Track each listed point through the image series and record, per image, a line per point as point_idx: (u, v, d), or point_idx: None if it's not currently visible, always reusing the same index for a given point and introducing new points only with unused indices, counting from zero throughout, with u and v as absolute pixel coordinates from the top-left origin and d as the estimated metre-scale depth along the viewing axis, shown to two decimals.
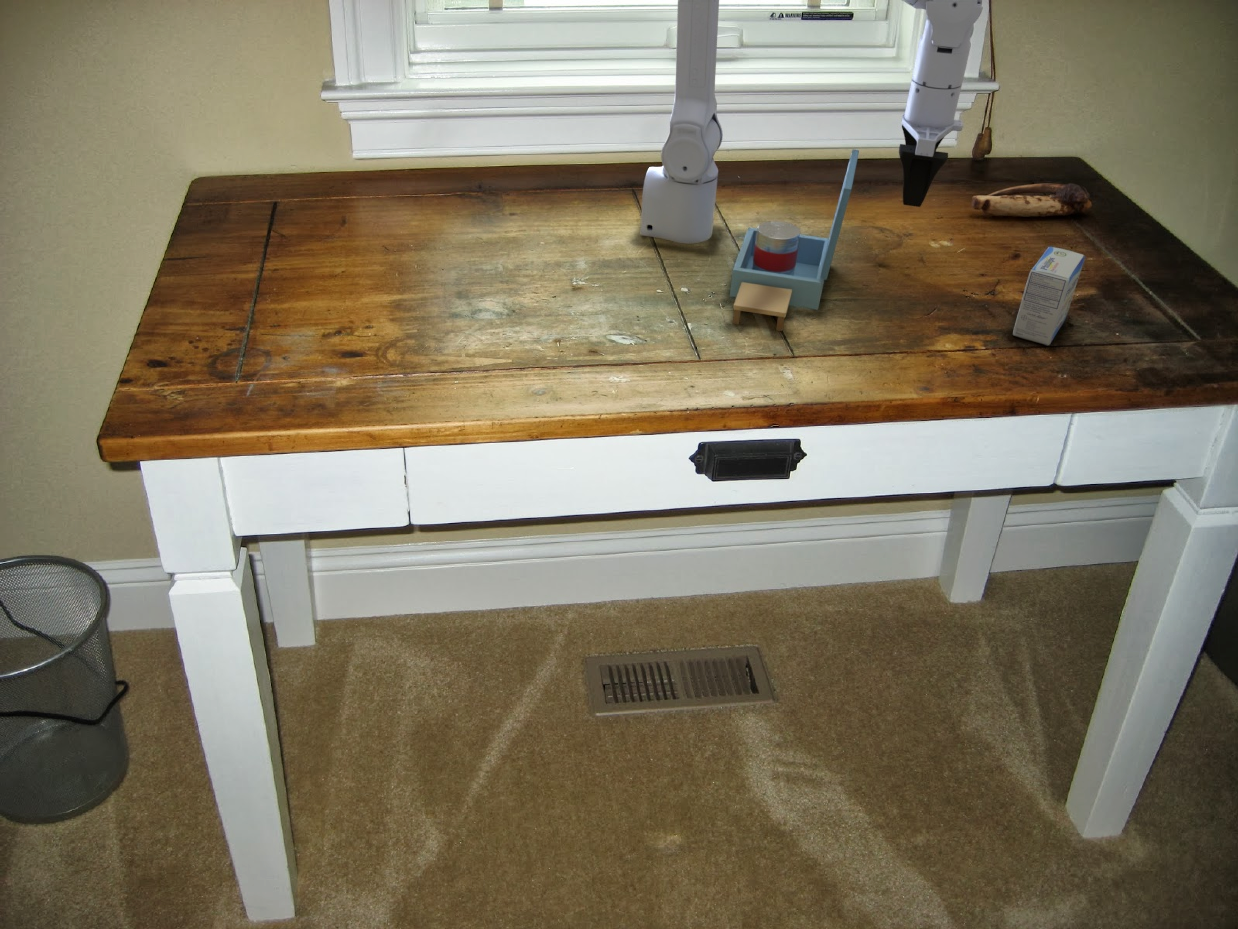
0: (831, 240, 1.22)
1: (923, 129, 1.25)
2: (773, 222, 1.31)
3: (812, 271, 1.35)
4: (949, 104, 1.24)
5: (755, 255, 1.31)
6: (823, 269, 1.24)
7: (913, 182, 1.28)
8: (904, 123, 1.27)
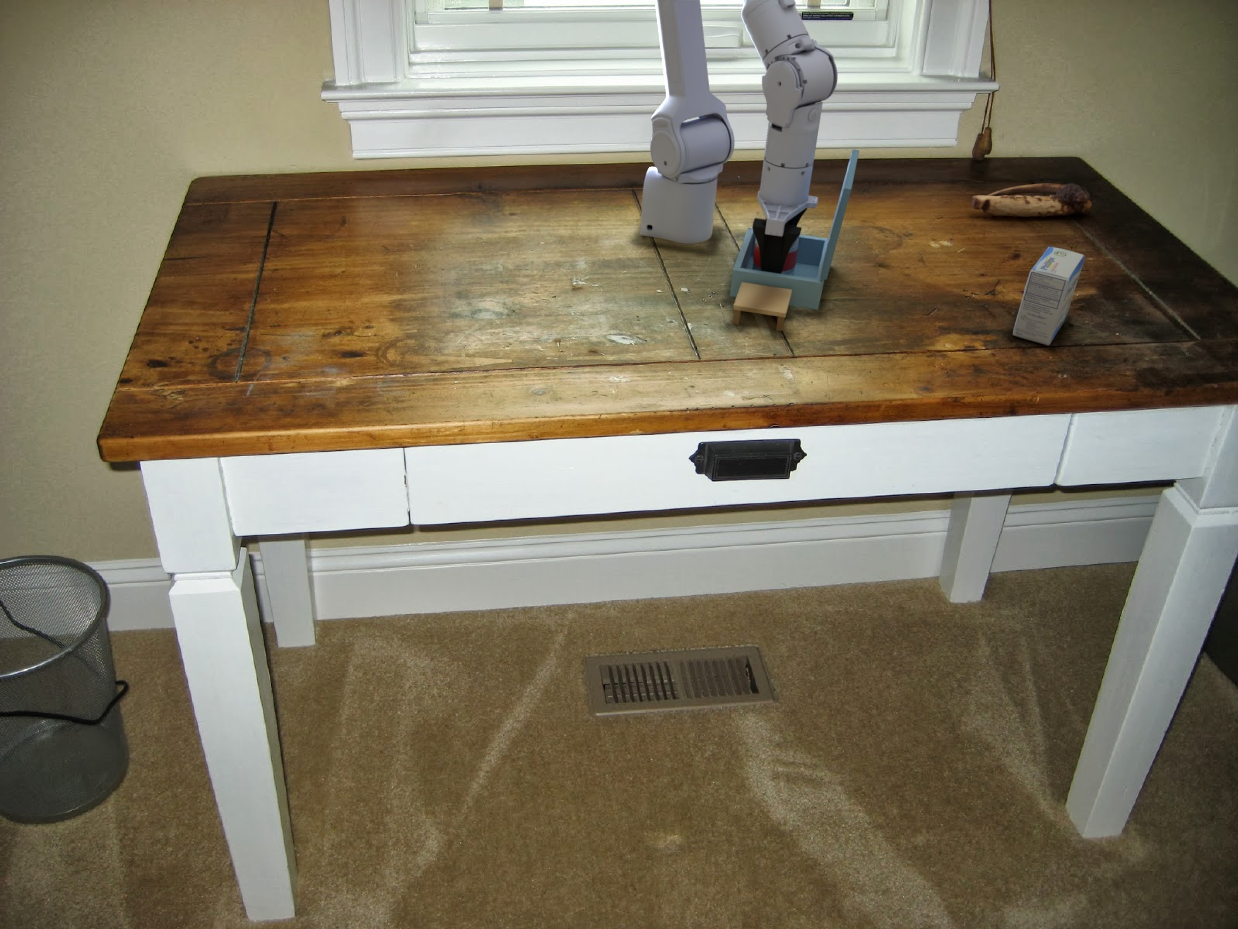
0: (831, 240, 1.22)
1: (776, 207, 1.25)
2: None
3: (812, 271, 1.35)
4: (799, 183, 1.23)
5: (755, 255, 1.31)
6: (823, 269, 1.24)
7: (770, 255, 1.28)
8: (758, 200, 1.26)
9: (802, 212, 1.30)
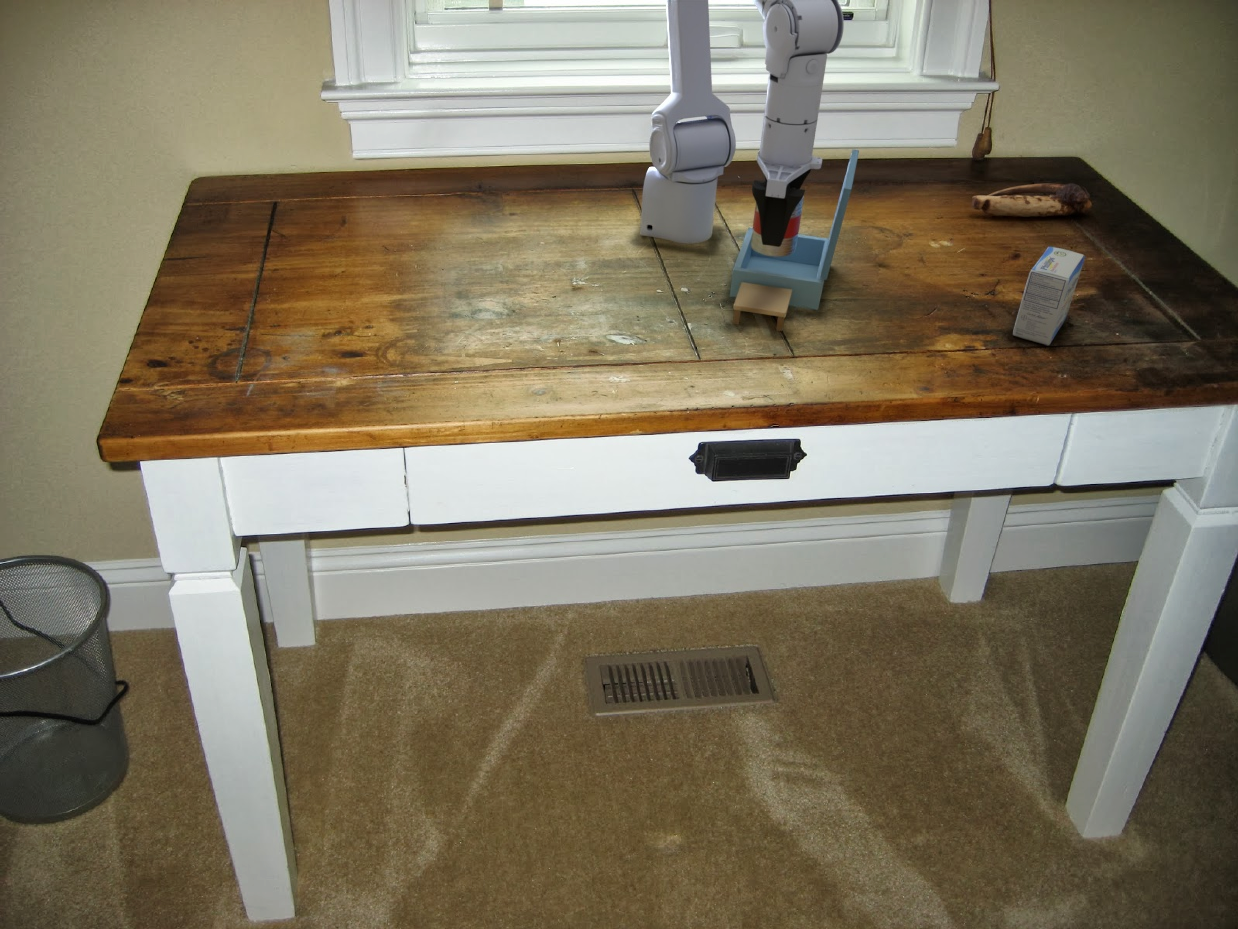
0: (831, 240, 1.22)
1: (777, 167, 1.15)
2: None
3: (812, 271, 1.35)
4: (803, 141, 1.14)
5: (755, 221, 1.21)
6: (823, 269, 1.24)
7: (770, 221, 1.19)
8: (758, 160, 1.17)
9: (805, 175, 1.21)
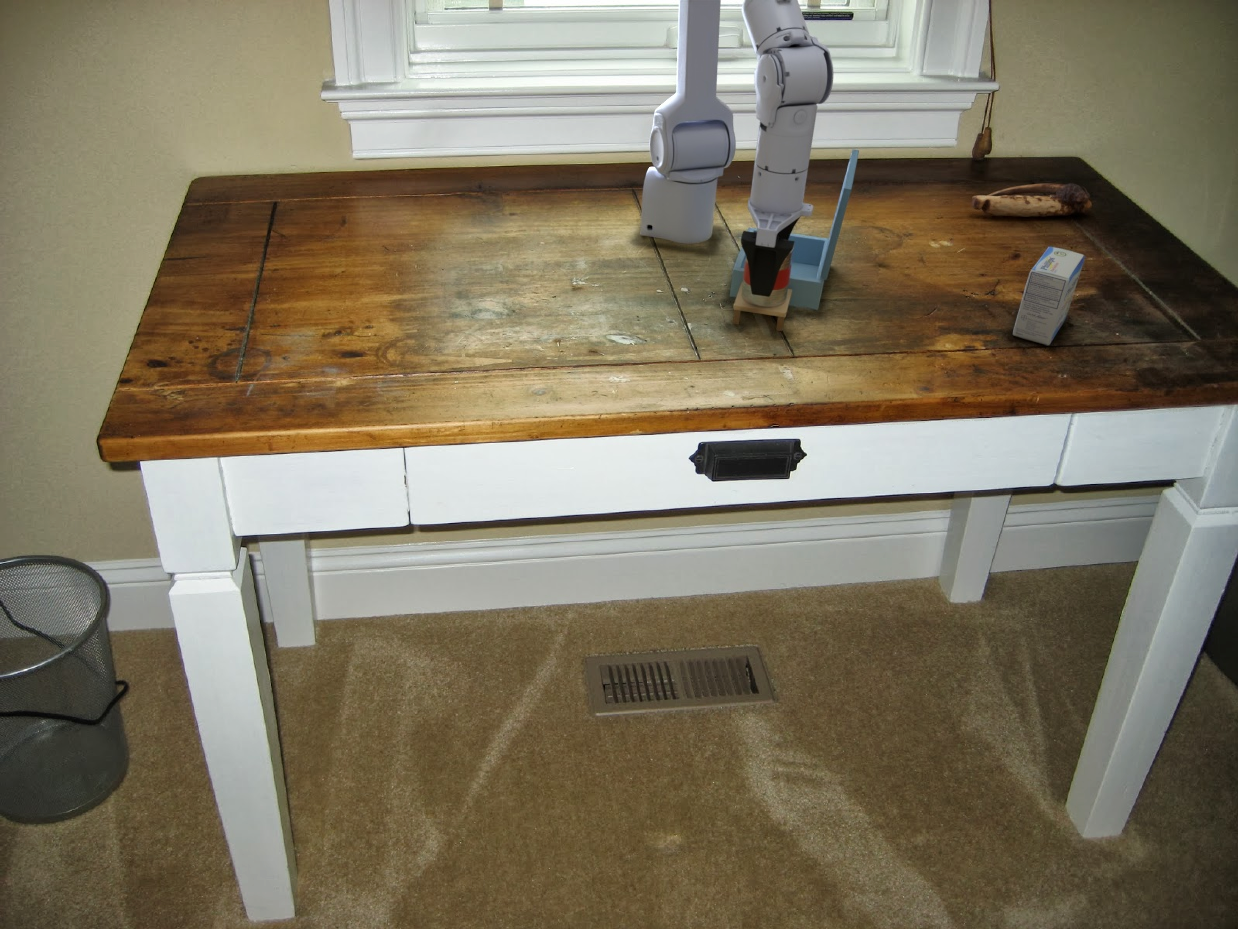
0: (831, 240, 1.22)
1: (767, 215, 1.15)
2: None
3: (812, 271, 1.35)
4: (793, 189, 1.14)
5: (745, 272, 1.21)
6: (823, 269, 1.24)
7: (760, 271, 1.18)
8: (749, 208, 1.17)
9: (797, 217, 1.21)
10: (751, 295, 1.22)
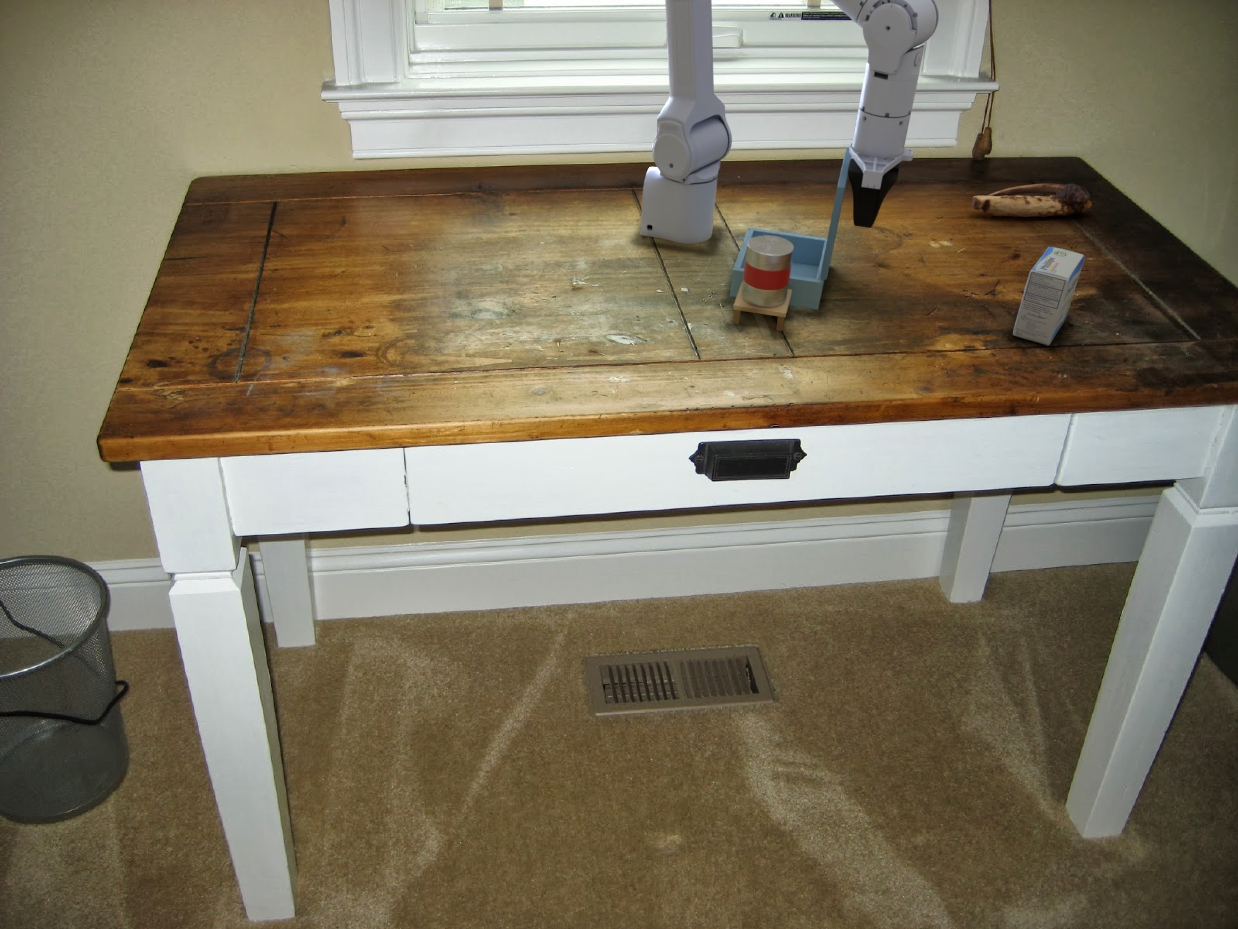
0: (828, 240, 1.22)
1: (871, 159, 1.19)
2: (765, 237, 1.22)
3: (812, 271, 1.35)
4: (897, 133, 1.17)
5: (745, 272, 1.21)
6: (822, 269, 1.24)
7: (863, 203, 1.24)
8: (851, 152, 1.20)
9: None
10: (751, 295, 1.22)
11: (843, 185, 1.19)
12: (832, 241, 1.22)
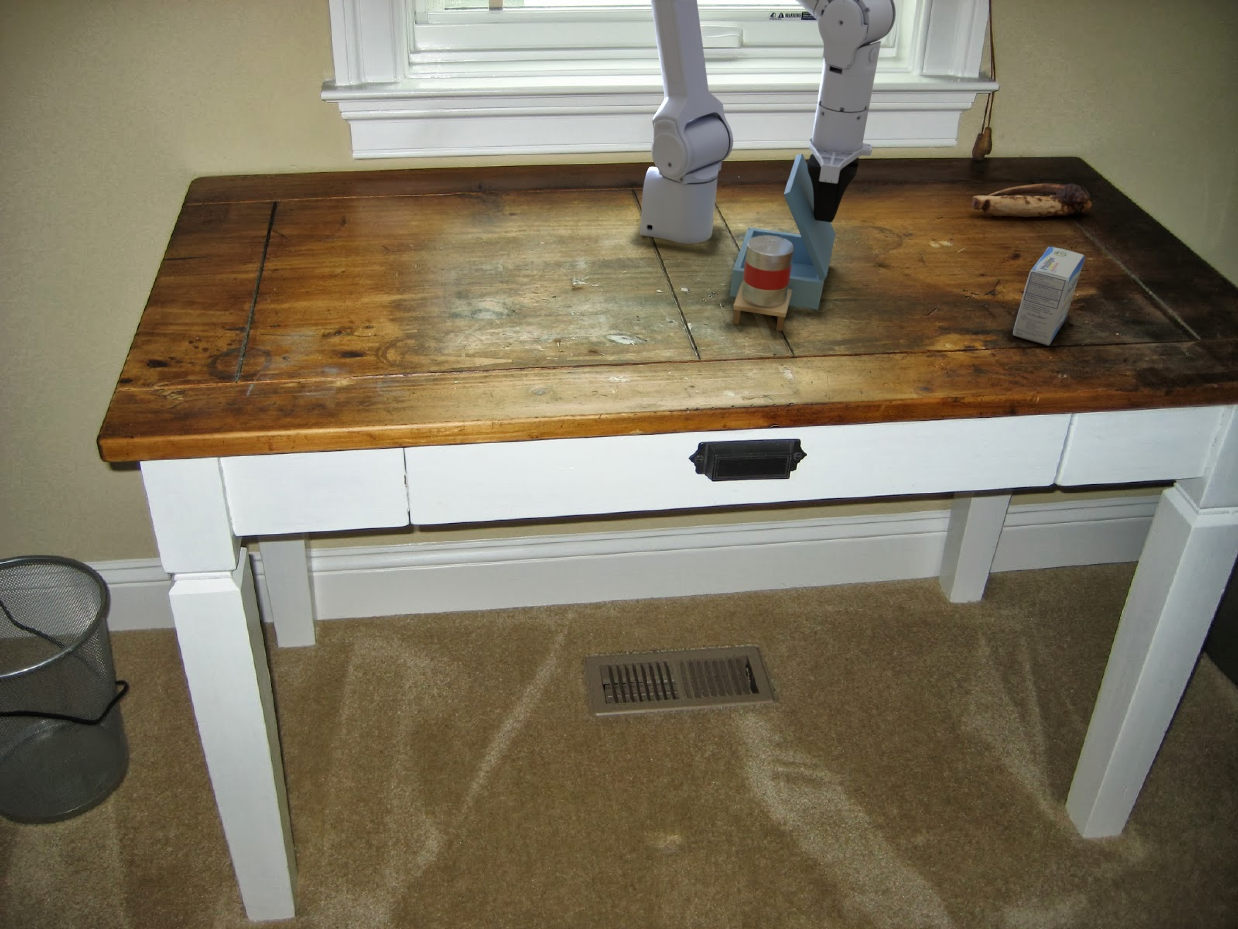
0: (805, 243, 1.23)
1: (829, 154, 1.19)
2: (765, 237, 1.22)
3: (812, 271, 1.35)
4: (855, 128, 1.18)
5: (745, 272, 1.21)
6: (817, 271, 1.24)
7: (824, 197, 1.25)
8: (811, 147, 1.21)
9: None
10: (751, 295, 1.22)
11: (789, 190, 1.20)
12: (809, 242, 1.23)
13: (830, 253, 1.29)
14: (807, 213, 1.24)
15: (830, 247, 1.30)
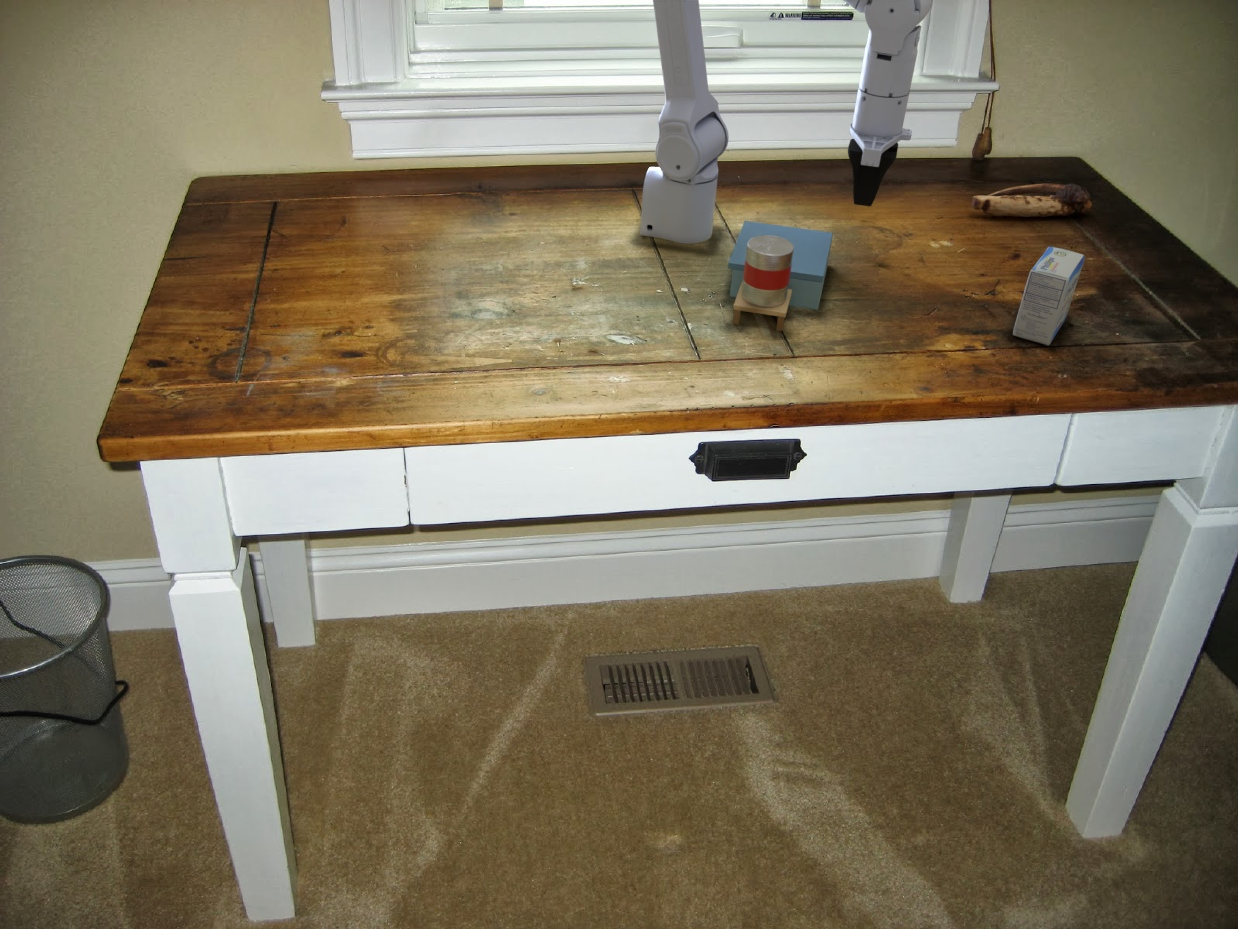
0: None
1: (870, 138, 1.22)
2: (765, 237, 1.22)
3: None
4: (896, 113, 1.21)
5: (745, 272, 1.21)
6: (812, 279, 1.25)
7: (863, 181, 1.27)
8: (851, 132, 1.24)
9: None
10: (751, 295, 1.22)
11: (729, 261, 1.27)
12: None
13: (826, 253, 1.29)
14: None
15: (825, 248, 1.30)
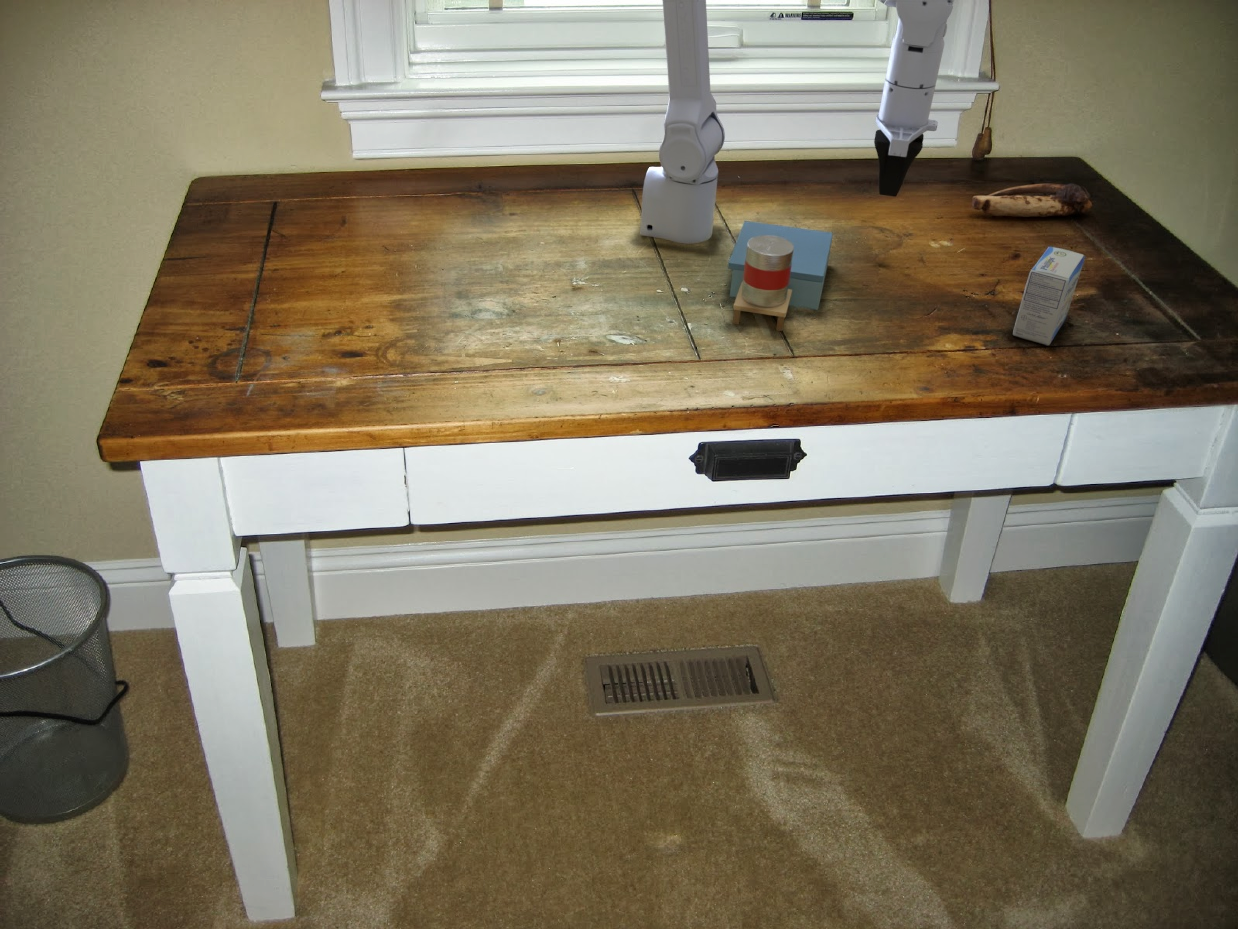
0: None
1: (897, 129, 1.24)
2: (765, 237, 1.22)
3: None
4: (922, 104, 1.23)
5: (745, 272, 1.21)
6: (812, 279, 1.25)
7: (889, 172, 1.29)
8: (878, 123, 1.26)
9: None
10: (751, 295, 1.22)
11: (729, 261, 1.27)
12: None
13: (826, 253, 1.29)
14: None
15: (825, 248, 1.30)
